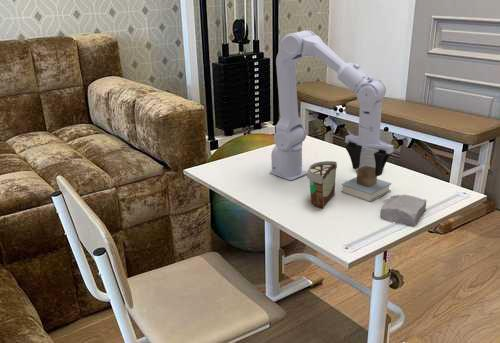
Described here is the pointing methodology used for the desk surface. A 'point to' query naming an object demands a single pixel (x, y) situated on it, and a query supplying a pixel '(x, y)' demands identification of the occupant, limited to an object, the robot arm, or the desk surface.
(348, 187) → the book
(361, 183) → the walnut block
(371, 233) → the desk surface
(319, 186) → the food container
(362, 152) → the medicine box
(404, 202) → the stone block
